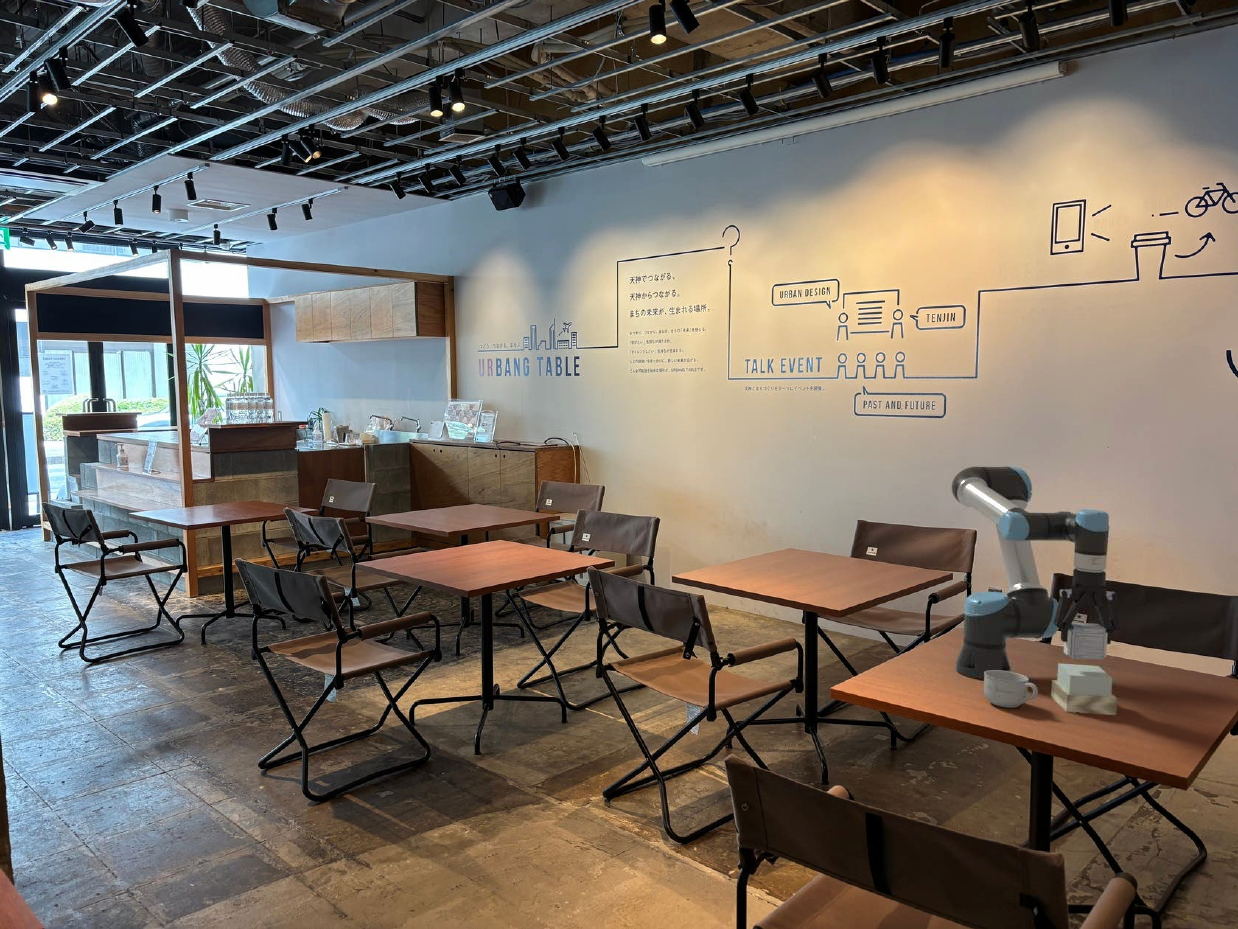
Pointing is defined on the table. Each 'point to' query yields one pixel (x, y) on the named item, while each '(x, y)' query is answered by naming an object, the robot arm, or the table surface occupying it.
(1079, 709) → the birch base block
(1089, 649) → the medicine box
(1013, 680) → the teacup
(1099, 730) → the table surface
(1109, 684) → the grey-green top block
